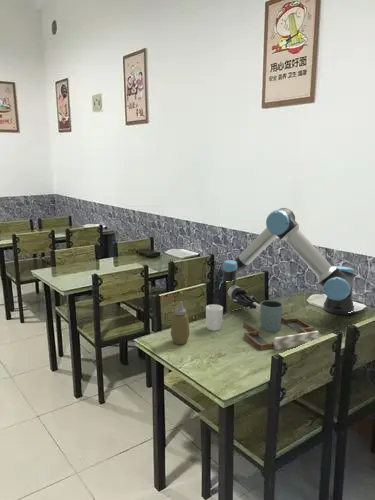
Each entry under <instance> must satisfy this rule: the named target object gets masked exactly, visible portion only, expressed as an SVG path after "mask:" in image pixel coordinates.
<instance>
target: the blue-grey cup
mask: <svg viewBox="0 0 375 500" xmlns="http://www.w3.org/2000/svg"><path fill="white" fill-rule="evenodd" d="M259 304H260V305H261V312H260V328H261V330H262V331H265V332H270V333H277V332H279V331H280V330H281V323H282V322H281V317H282V314H283V307H284V305H283V303H282V302H280V301H278V300H269V299H266V300H263V301H260V302H259Z"/></svg>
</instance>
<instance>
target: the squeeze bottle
mask: <svg viewBox="0 0 375 500" xmlns="http://www.w3.org/2000/svg"><path fill="white" fill-rule="evenodd" d="M170 327H171V329H170V336H171V338H172V342H173V344H175V345H184V344H187V343H188V341H189V339H190V338H189V337H190V335H191V334H190V333H191V332H190V320H189V315H188V314H187V309H186V308H184V304H183V301H181V300H180V301H179V302H178V306H177V308H175V309H174V313H173V315H172V318H171V326H170Z"/></svg>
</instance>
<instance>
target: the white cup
mask: <svg viewBox="0 0 375 500" xmlns="http://www.w3.org/2000/svg"><path fill="white" fill-rule="evenodd" d="M223 312H224V306H222V305H220V304H215V303H214V304H213V303H212V304H208V305H206V306H205V321H206V325H205V326H206V329H207V330H210V331H214V332H215V331H220V330H221V329H222V323H223V314H224V313H223Z"/></svg>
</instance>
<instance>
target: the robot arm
mask: <svg viewBox="0 0 375 500" xmlns="http://www.w3.org/2000/svg"><path fill="white" fill-rule="evenodd" d="M265 225H266V228H265V229H264V230H263V231H262V232H261V233H259V235H258V236H257V237H256V238H255V239H253V241H252V242H251V243H250V244H249V245H248V246H247V247H246V248H245V249H244V250H243V251H242V252H240V254H239V255H238V256H237V257H236V258H235V259H234V260H231V259H228V260H224V261H223V264H222V265H223V266H222V281H221V282H220V283H219V287H218V288H219V290H220V287H221V284H222V283H224V282H226V281H232V280H234V281H233V284H232V285H231V286H230V287H229V289H228V291H227V293H228V296H229V297H228V296H227V297H228V298H230V299H231V300H232V301H233V303H235V304H238V305H241V306H243V307H245V308H249V309H250V310H252V309H253V310H255V311H257V312H258V313H261V305H260V300H259V299H258V298H257V296H256V294H253V295H250V294H248V293H247V291H246V290H245V289H243V288H242V287H240V286H238V285H237V279H238V277H237V275H239V274H240V273H242V272H244V271H245V269H246V268H247V267H248V266H249V265H250V264H251V263H252V262H253V261H254V260H255V259H256V258H258V256H259V255H260V254H261V253H262V252H263V251H264V250H266V248H267V247H268V246H270V244H272V243H273V241H275V240H276V239H277V237H278V239H279V240H280V241H284V242H286V243H287V244H288V245H289V247H291V249H292V251H294V253H296V255H297V256H298V257H299V258H300V259H301V260H302V261H303V262H304V264H305V265H306V266H307V267H308V268H309V269H310V270H311V271H312V272H313V274H314V275H315V276H316V277H317V284H319V285H320V286H321V288H322V289H323V293H324V295H325V296H326V298H325V300H324V302H323V307H322V308H323V310H324V311H326V312H328V313H330V314H335V315H343V316H344V315H346V316H347V315H351V314H353V313H354V312H355V306H354V302H353V290H354V289H353V287H354V280H355V278H354V277H355V269H354V268H352V267H349V266H348V267H347V266H341V265H340V266H339V265H331V263H330V262H329V261H328V260H327V259H326V258H325V257H324V256H323V255H322V254H321V252H320V251H319V250H318V249H317V248H316V247H315V245H313V244H312V242H311V241H310V240H309V239H308V238H307V237H306V236H305V235H304V234H303V233H302V231H301V230H300V224H299V223H298V222H297V221H296V215H295V214H294V212H293V211H292V210H291V209H290V208H287V207H281V208H278V209H275V210H273V211H272V212H270V213H269V215H267V217H266V221H265ZM353 310H354V311H353ZM351 311H353V312H351ZM348 312H351V313H348Z"/></svg>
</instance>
